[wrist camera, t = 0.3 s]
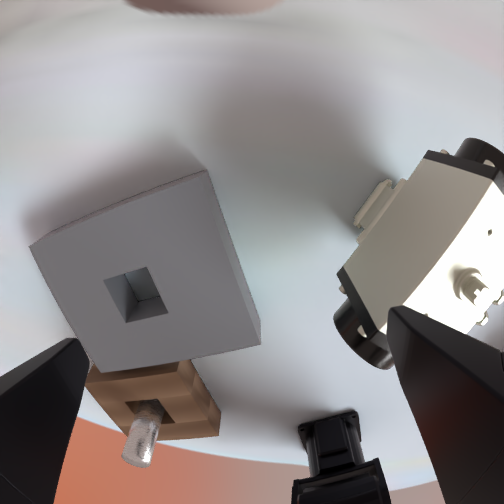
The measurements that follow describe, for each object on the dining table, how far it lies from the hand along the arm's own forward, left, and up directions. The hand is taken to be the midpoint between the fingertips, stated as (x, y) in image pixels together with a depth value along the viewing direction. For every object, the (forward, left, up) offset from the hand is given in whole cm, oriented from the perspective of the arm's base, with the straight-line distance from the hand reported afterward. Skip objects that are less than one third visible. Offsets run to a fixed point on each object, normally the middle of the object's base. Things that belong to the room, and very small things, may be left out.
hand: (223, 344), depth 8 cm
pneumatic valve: (-3, -10, -14) cm, 17 cm away
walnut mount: (-14, +13, -14) cm, 24 cm away
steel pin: (-14, +13, -14) cm, 24 cm away
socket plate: (-3, +8, -14) cm, 17 cm away
